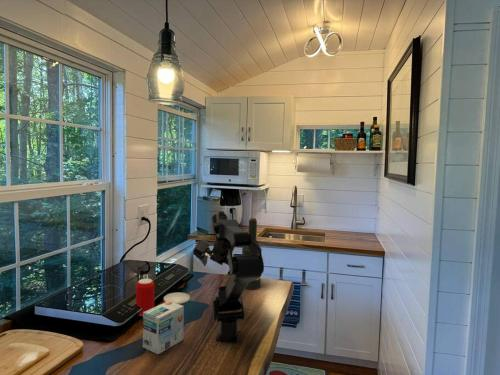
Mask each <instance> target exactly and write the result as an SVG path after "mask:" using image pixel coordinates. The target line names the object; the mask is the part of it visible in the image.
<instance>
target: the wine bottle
mask: <svg viewBox="0 0 500 375" xmlns="http://www.w3.org/2000/svg"><path fill="white" fill-rule="evenodd" d="M257 224H258V221H257V219H256V218H255V217H251V218H249V220H248V233H250V234H251V237H252V241H253V242H254V243H255V244H256V245H257V246H258V248H259V249H260V250H261V253H262V252H263V250H262V248H261V246H260V244H259V242H258V240H257V228H258V225H257ZM241 248H242V249H241V256H249V255H253V254H252V252H251V251H250V250H249V249H248V246H246V247H241ZM261 277H262V276H261ZM261 277H260V278H258V279H257V280H254V281H251V282H249V283H248V284H247V286H246V288H245V289H244V290H246V291H257V290H259V289H260V288H261Z"/></svg>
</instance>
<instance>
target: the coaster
mask: <svg viewBox="0 0 500 375" xmlns="http://www.w3.org/2000/svg"><path fill="white" fill-rule="evenodd" d="M190 300H191V296H190V295H189V294H188V293H185V292H170V293H167V294H166V295H165V296H163V302H164V303H165V302H167V301H171V302H173V303H176V304H179V305H181V304H185V303H187V302H189V301H190Z"/></svg>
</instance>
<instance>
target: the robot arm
mask: <svg viewBox="0 0 500 375" xmlns="http://www.w3.org/2000/svg"><path fill="white" fill-rule="evenodd" d="M210 228H211V230H212V231H213V234H214V235H215V240H214V243H213V248H212V249H211V243H209V242H207V241H206V240H204V239H200V240H199V241H198V243H197V244H196V245H195V246H194V248H193V249H192V255H193V256H195V258H196V259H198V260H199V261H200V262H201V264H202V265H203V266H204V267H207V265H208V259H209V260H211V261H213V262H215V263H217V264H219V265H221V266H222V265H223V264H226V265H228V269H229V270H228V272H227V273H226V275H225V278H226V279H227V278H229V277H230V278H229V280H228V283H227V285H226V286H222V285H221V286H219V287H218V289H217V291H216V296H214V297H213V301H212V311H213V320H214V321H216V322H217V323H219V330H218V331H219V332H218V333H217V336H216V338H215V340H216V341H217V342H218V341H220V342H227V343H238V340H239V337H240V335H241V331H240V330H239V320H244V319H245V309H244V303H243V298H242V294H243V293H244V291H245V290H246V289H245V288H246V286H247V284H248V283H249V282H251V281H254V280H257V279H258V278H260V277H262V274H263V273H264V271H265V264H264V258H263V255H262V252H261V250H260V249H259V248H258V246H257V245H256V244H255V243H254V242H253V241H252V237H251V234H250V233H249V231H245V230H244V229H243V228H241V227H240V223H239V222H238V220H237V219H234V218H233V219H229V217H228V215H227V213H225V211H222V210H221V211H219V210H218V212H217V213H215V214H213V215H212V216H211V225H210ZM246 246H248V249H249V250H250V251H251V252H252V254H253V255H249V256H242V255H235V256H234V255H233V252H234V251H235V248H239V247H240V248H243V247H246Z"/></svg>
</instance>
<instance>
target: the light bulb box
mask: <svg viewBox="0 0 500 375" xmlns="http://www.w3.org/2000/svg"><path fill="white" fill-rule="evenodd" d="M184 315H185V306H184V305H181V304H176V303H173V302H171V301H167V302H165V301H164V302H163V303H161V304H158V305H157V306H154V308H152V309H150V310H147V311H145V312H143V316H142V318H143V319H142V348H144V349H146V350H147V351H150V352H152V353H154V354H156V355H159V354H161V353H164V352H165V351H167V350H168V349H170V348H173V346H175V345H177V344H179V343H180V342H181V341H183V340H184V322H185V320H184V318H185V317H184Z"/></svg>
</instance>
